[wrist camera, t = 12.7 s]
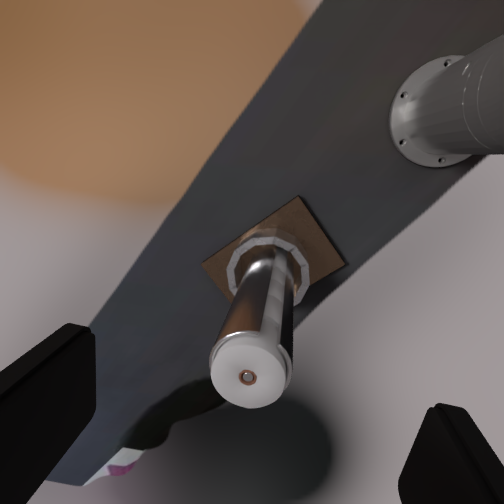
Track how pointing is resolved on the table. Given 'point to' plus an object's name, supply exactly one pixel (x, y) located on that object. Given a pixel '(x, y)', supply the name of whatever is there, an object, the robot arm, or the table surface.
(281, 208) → the duct collar
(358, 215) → the table surface
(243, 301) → the silver long cylinder
